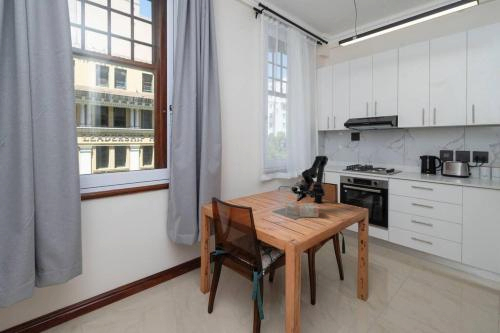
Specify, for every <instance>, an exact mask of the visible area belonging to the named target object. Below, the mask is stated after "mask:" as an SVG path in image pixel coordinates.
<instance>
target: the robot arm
mask: <svg viewBox="0 0 500 333" xmlns="http://www.w3.org/2000/svg"><path fill="white" fill-rule="evenodd" d="M314 158H315V159H314V161H313V163H312V165H311V167H310V168H307V169H305V170H304V171H302V172H301V176H302V178H303V182H302V181H297V182H296V183H295V184H296V186H292V187H291V189H290V190H291V192H292V193H293V194H295V195H296V196H297V197H296V203H298V202H300V201H301V200H303V199H305V198H308V196H309V197H310V198H311V199H314V201H313V203H314V204H323V203H325V201H323V197H325V196H326V192H325V189H324V185H323V180H324V179H323V178H324V174H325V166H327V164H328V162H329V157H327V155H316V156H315V157H314ZM314 179H316V181H315V180H314ZM312 186H313V187H312ZM311 187H312V188H311Z"/></svg>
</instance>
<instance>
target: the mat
mask: <svg viewBox="0 0 500 333" xmlns="http://www.w3.org/2000/svg"><path fill="white" fill-rule="evenodd" d="M271 212H272V213H275V214H278V215H281V216H284V217H286V218H289V219H293V220H297V219H301V218H303V217H300V215H286V207H283V208H280V209H275V210H271Z"/></svg>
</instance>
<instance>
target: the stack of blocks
mask: <svg viewBox="0 0 500 333" xmlns="http://www.w3.org/2000/svg"><path fill="white" fill-rule="evenodd" d="M285 208H286V215H300V217H302V218H304V217H306V218H307V217H308V218H319V214H320V213H319V206H318V205H317V203H309V202H308V203H307V202H303V203H302V202H301V203H298V202H286V203H285Z"/></svg>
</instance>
